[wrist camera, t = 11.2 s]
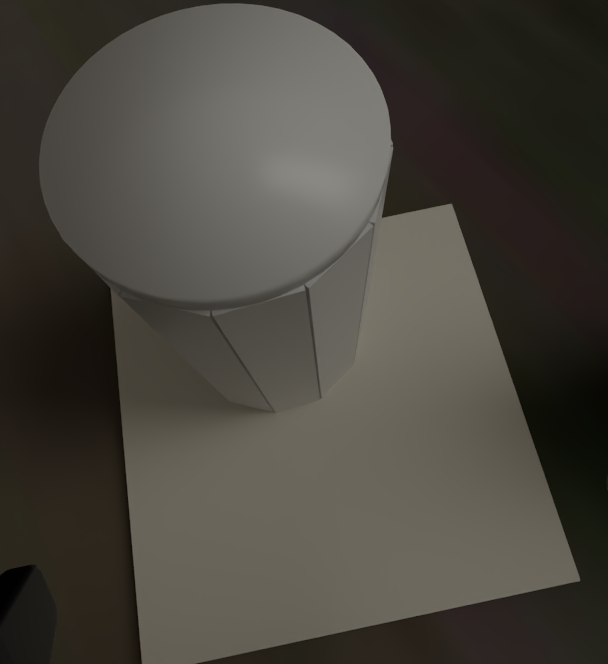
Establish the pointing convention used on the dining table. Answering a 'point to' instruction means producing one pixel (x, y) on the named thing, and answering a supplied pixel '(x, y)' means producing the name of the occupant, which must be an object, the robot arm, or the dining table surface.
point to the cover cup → (228, 191)
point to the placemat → (338, 474)
